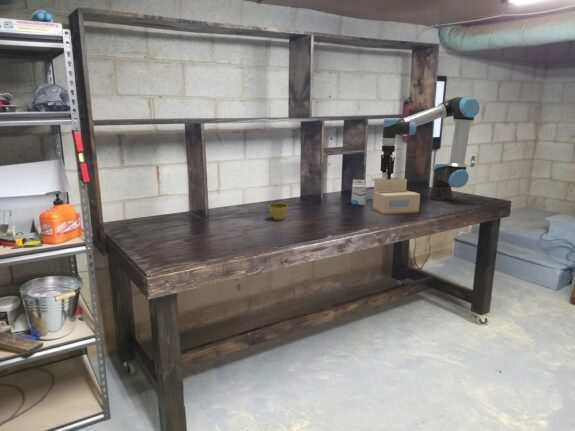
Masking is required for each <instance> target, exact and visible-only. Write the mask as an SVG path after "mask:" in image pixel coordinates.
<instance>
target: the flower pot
mask: <svg viewBox="0 0 575 431" xmlns="http://www.w3.org/2000/svg"><path fill="white" fill-rule="evenodd" d="M288 207H289V205H288V204H285V203H272V204H268V209H269V212H270V215H271V217H272V219H274V220H275V221H276V220H277V221H281V220H284V218H285V216H287V215H286V214H287V212H288V209H289V208H288Z"/></svg>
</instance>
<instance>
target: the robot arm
mask: <svg viewBox="0 0 575 431" xmlns="http://www.w3.org/2000/svg"><path fill="white" fill-rule="evenodd" d="M479 111H480V103H479V101H478V100H477V99H476V98H474V97H472V96H471V97H470V96H460V97H459V96H457V97H456V96H455V97H453V98H450V99H447V100H445V101H442V102H440V103H438V104H437V105H436V106H434V107H430V108H428V109H425V110H422V111H420V112H417V113H414V114H412V115H409V116H406V117H403V118H400V119H397V118H393V117H392V118H391V117H390V118H389V117H388V118H387V117H386V118H384V120H383V126H382V139H381V142H382V146H381V152H382V153H383V154H380V171H381V177H386V180H390V179H391V177H392V174H394V169H395V168H394V167H395V160H396V157H395V156H394V154H393V153H395V150H396V146H395V145H396V136H411V135H415V134H416V131H417V127H419V126H422V125H424V124H428V123H430V122H433V121H435V120H438V119H446V118H448V117H449V118H451V117H453V122H454V130H453V138H452V144H451V151H450V157H449V162H448V163H436V164H435V165H434V167H433V175H432V177H433V178H432V184H431V186H432V187H431V188H430V191H429V193H428V199H430V200H433V201H439V202H440V201H441V202H447V201H448V202H450V201H453V199H454V195H453V191H452V188H456V189H458V188H459V189H460V188H462V187H464V186H465V185H466V184H467V182H468V181H469V179H470V176H469V173H468V171H467V164H466V163H465V161H466V156H467V148H468V141H469V137H470V136H469V135H470V128H471V124H472V123H473V122H474V120H475V117H476V116H477V115H478V114H479Z"/></svg>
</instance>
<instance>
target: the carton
mask: <svg viewBox="0 0 575 431" xmlns="http://www.w3.org/2000/svg"><path fill="white" fill-rule="evenodd" d="M372 200H373V201H372V209H373V210H374V211H376V212H377V213H380V214H382V215H397V214H399V215H400V214H401V215H402V214H415V213H419V211H420V202H421V194H420V193H419V192H415V191H410V190H406V191H383V192H374V191H373V199H372Z"/></svg>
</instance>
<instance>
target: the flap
mask: <svg viewBox="0 0 575 431" xmlns="http://www.w3.org/2000/svg"><path fill="white" fill-rule="evenodd" d="M407 181H408V178H401V177H400V176H391V179H390V180H386V177H382V176H380V177H377V176H376V177H372V182H374V183H373V185H374V186H373V193H374V192H386V191H407V186H408V185H407V183H408V182H407Z"/></svg>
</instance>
